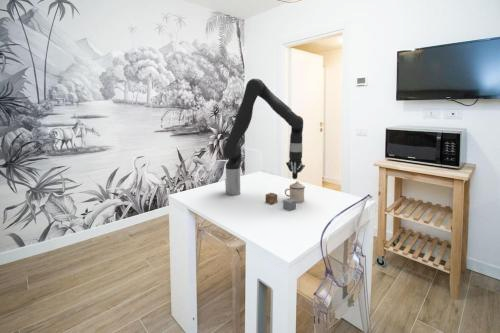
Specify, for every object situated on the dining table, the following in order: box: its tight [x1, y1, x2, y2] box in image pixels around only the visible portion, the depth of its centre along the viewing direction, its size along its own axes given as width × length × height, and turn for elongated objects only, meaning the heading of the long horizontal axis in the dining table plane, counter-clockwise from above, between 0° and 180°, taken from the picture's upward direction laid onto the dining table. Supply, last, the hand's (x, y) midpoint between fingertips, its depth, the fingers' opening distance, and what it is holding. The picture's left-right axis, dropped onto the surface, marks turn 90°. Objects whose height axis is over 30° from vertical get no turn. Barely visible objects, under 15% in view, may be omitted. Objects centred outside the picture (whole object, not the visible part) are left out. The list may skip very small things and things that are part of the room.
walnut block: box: [265, 192, 278, 205], centre depth 162 cm, size 5×5×5 cm
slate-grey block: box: [282, 197, 297, 212], centre depth 152 cm, size 5×5×5 cm
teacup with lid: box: [284, 180, 305, 203], centre depth 165 cm, size 12×9×12 cm
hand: (294, 178), depth 163 cm, fingers closed
